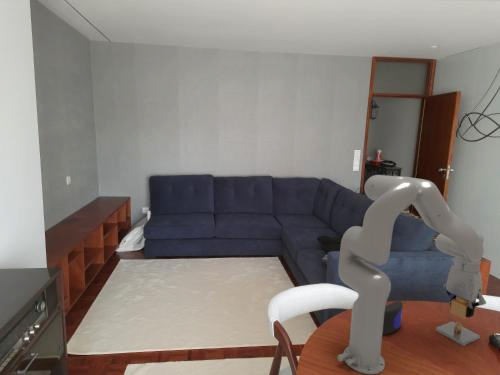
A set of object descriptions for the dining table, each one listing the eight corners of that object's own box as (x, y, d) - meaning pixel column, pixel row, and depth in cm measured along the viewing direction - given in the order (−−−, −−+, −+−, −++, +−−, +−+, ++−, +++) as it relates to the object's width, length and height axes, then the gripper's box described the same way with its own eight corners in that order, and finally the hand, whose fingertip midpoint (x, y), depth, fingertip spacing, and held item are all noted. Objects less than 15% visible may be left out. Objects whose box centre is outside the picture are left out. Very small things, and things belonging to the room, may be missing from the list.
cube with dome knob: (463, 319, 116) (466, 301, 115) (449, 312, 120) (452, 295, 119) (472, 316, 118) (474, 298, 117) (458, 309, 122) (460, 292, 121)
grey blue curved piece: (381, 340, 116) (384, 315, 114) (370, 333, 119) (372, 309, 118) (407, 326, 125) (410, 303, 123) (396, 320, 128) (398, 298, 127)
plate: (462, 345, 113) (464, 334, 113) (435, 330, 122) (437, 319, 122) (479, 338, 118) (481, 327, 117) (451, 324, 127) (453, 313, 126)
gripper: (437, 259, 122) (432, 304, 125) (487, 277, 107) (479, 327, 110) (449, 256, 125) (444, 299, 128) (499, 273, 110) (492, 322, 113)
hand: (461, 312), depth 119 cm, fingers closed on cube with dome knob, 5 cm apart
